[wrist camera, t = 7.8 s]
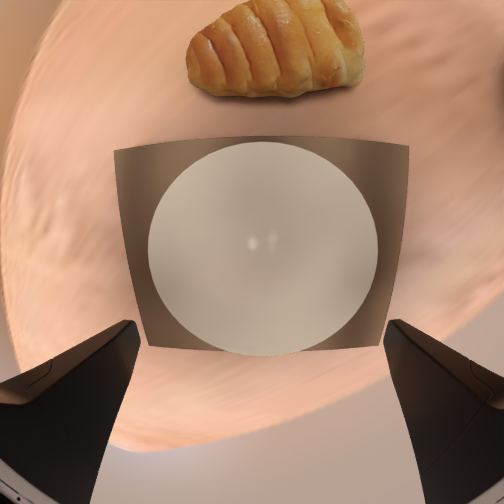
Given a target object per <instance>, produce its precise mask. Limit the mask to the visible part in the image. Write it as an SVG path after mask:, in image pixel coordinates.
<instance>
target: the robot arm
mask: <svg viewBox="0 0 504 504" xmlns="http://www.w3.org/2000/svg"><path fill="white" fill-rule="evenodd" d="M140 343H141V340H140V336H139V332H138V329H137V326H136V323H135V321H133V320H122V321H120V322H119V323H117V324H115V325H113V326H111V327H109V328H107V329H106V330H104V331H102V332H100V333H98V334H96V335H95V336H93V337H91V338H89V339H87V340H85V341H83V342H82V343H80V344H78V345H76V346H74V347H72V348H71V349H69V350H67V351H65V352H63V353H61V354H59V355H58V356H56V357H54V358H53V359H50V360H48V361H46V362H45V363H43V364H41V365H39V366H37V367H35V368H33V369H31V370H29V371H26V372H24V373H22V374H20V375H17V376H15V377H13V378H11V379H8V380H6V381H4V382H2V383H0V504H90V500H91V496H92V492H93V489H94V486H95V482H96V479H97V475H98V471H99V468H100V465H101V461H102V458H103V455H104V452H105V449H106V446H107V443H108V440H109V437H110V434H111V431H112V428H113V425H114V423H115V420H116V417H117V414H118V411H119V409H120V406H121V403H122V401H123V398H124V395H125V393H126V390H127V387H128V385H129V382H130V379H131V376H132V373H133V369H134V365H135V362H136V358H137V355H138V351H139V347H140ZM383 344H384V348H385V352H386V356H387V360H388V365H389V369H390V374H391V377H392V381H393V384H394V387H395V390H396V393H397V396H398V398H399V402H400V405H401V408H402V411H403V415H404V418H405V421H406V424H407V428H408V431H409V435H410V438H411V442H412V446H413V450H414V453H415V457H416V461H417V465H418V470H419V474H420V479H421V483H422V488H423V493H424V497H425V503H426V504H504V377H502V376H499V375H497V374H496V373H494V372H492V371H490V370H488V369H486V368H484V367H482V366H481V365H478V364H477V363H475V362H474V361H472V360H469V359H468V358H467V357H465V356H463V355H462V354H460V353H458V352H456V351H455V350H453V349H451V348H450V347H448V346H446V345H444V344H443V343H441V342H439V341H437V340H436V339H434V338H432V337H431V336H429V335H427V334H425V333H424V332H422V331H420V330H418V329H417V328H415V327H413V326H411V325H410V324H408V323H406V322H404V321H403V320H401V319H394V320H390V321H389V322H388V325H387V328H386V332H385V335H384V340H383Z"/></svg>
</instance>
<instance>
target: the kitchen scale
mask: <svg viewBox="0 0 504 504" xmlns="http://www.w3.org/2000/svg"><path fill="white" fill-rule="evenodd" d="M114 161H115V173H116V184H117V193H118V202H119V209H120V217H121V224H122V230H123V236H124V242H125V248H126V253H127V259H128V264H129V269H130V274H131V278H132V283H133V287H134V292H135V296H136V300H137V304H138V308H139V312H140V316H141V320H142V323H143V327H144V331H145V334H146V338H147V341H148V344H149V346H157V347H168V348H179V349H193V350H211V351H229V352H233V353H236V354H242V355H248V356H262V357H265V356H279V355H285V354H290V353H294V352H298V351H315V350H332V349H346V348H358V347H368V346H377V345H379V342H380V339H381V335H382V331H383V328H384V324H385V320H386V316H387V312H388V308H389V304H390V300H391V295H392V291H393V286H394V281H395V276H396V271H397V266H398V260H399V254H400V248H401V241H402V234H403V226H404V218H405V209H406V198H407V185H408V167H409V146H405V145H398V144H391V143H383V142H375V141H365V140H355V139H342V138H327V137H303V136H249V137H225V138H210V139H197V140H186V141H177V142H168V143H160V144H152V145H145V146H138V147H132V148H126V149H120V150H115V151H114Z"/></svg>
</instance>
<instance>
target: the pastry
mask: <svg viewBox="0 0 504 504" xmlns="http://www.w3.org/2000/svg"><path fill="white" fill-rule="evenodd" d="M363 54H364V41H363V38H362V36H361V31H360V28H359V25H358V23H357V20H356V18H355V15H354V13H353V12H352V10H351V9H350V8H349V7H347V6H346V4H345V2H344V1H343V0H250V1H248V2H245V3H242V4H239V5H237V6H236V7H234V8H233V9H232V10H230V11H228V12H226V13H224V14H222V15H221V16H220V18H219V19H217V20H216V21H215V22H213V23H212V24H210V25H208V26H207V27H205V28H204V29H203V30H201V31H200V32H198V33H197V34H196V35H195V36H194V37H193V38H192V40H191V42H190V45H189V47H188V50H187V56H186V64H187V69H188V78H189V81H190V82H191V84H193V85H194V86H196V87H198V88H200V89H202V90H204V91H206V92H208V93H209V94H211V95H213V96H236V95H239V96H245V97H250V98H254V97H265V96H281V97H286V98H293V97H298V96H300V95H301V94H303V93H305V92H307V91H316V90H320V89H327V88H332V87H338V86H350V87H352V86H356V85H357V84H359V83H360V81H361V80H362V77H363V70H364V67H365V63H364V58H363Z"/></svg>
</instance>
